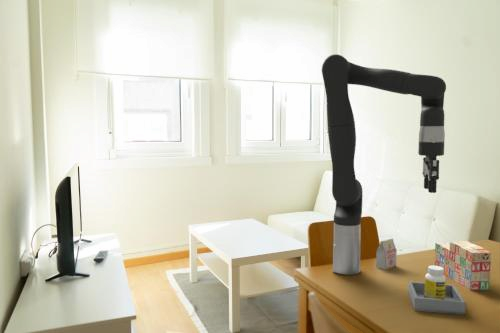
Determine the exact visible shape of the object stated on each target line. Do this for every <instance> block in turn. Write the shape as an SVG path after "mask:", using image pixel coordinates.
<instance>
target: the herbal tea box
mask: <svg viewBox="0 0 500 333" xmlns="http://www.w3.org/2000/svg"><path fill="white" fill-rule="evenodd" d="M395 245H396V244H395V243H394V238H388V239H385V240H381V241H380V243H379V245H378V247H377V249H376V256H375V257H376V259H375V260H376V262H375V267H376V268H378V269H381V270H384V271H385V270H389V269H391V268H395V267H397V248H396V246H395Z"/></svg>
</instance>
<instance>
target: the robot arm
mask: <svg viewBox="0 0 500 333" xmlns="http://www.w3.org/2000/svg"><path fill="white" fill-rule="evenodd" d="M321 74H322V80H323V85H324V89H325V96H326V120H327V122H326V123H327V135H328V144H329V152H330V158H331V166H332V183H331V184H332V186H331V187H332V188H331V192H332V197H333V198H334V200H335V210H334V215H333V244H332V245H333V246H332V273H337V274H340V275H344V276H346V275H347V276H354V275H357V274H359V273H360V272H361V233H362V232H361V229H362V228H361V227H362V226H361V224H362V222H361V220H362V214H363V186H362V184H361V182H360V181H359V180H358V179H357V178H356V172H355V156H356V154H355V153H356V146H357V145H356V144H357V132H356V121H355V117H354V116H355V115H354V112H353V109H352V105H351V102H350V97H349V86H348V85H355V86H364V87H369V88H373V89H377V90H381V91H386V92H390V93H394V94H398V95H399V94H400V95H411V96H417V97H420V104H421V108H420V109H421V110H420V118H419V119H420V120H419V132H418V149H417V150H418V152H417V153H418V155H419V156H425V157H423V158H422V160H423V161H422V173H421V174H422V176H423V178H424V179H423V188H424V189H425V190H428V191H427V192H429V193H431V194H432V193H433V194H435V193H437V181H438V180H439V178H440V160H439V159H437V157H438V156H439V157H440V156H441V157H442V156H444V154H445V141H446V140H445V138H446V137H445V136H446V135H445V134H446V132H445V111H444V105H445V104H444V103H445V102H444V101H445V93H446V89H447V84H446V82H445V80H444V79H443V78H441V77H439V76H436V75H428V74H417V73H416V74H415V73H411V72H406V71H402V70H396V69H389V68H376V67H375V68H374V67H366V66H362V65H358V64H355V63H352V62H350V61H348V60H347V58H345V56H343V55H341V54H336V53H335V54H330V55H329V56H328V57H327V56H326V58H325V59H324V61H323V63H322V65H321Z"/></svg>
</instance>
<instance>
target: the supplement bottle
mask: <svg viewBox="0 0 500 333" xmlns="http://www.w3.org/2000/svg"><path fill="white" fill-rule="evenodd" d="M424 283H425V293H424V298H433V299H444V300H445V290H446V284H447V278H446V276H445V275H444V269H443V268H442V267H440V266H435V265H428V269H427V273H426V274H425V277H424Z"/></svg>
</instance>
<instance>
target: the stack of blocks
mask: <svg viewBox="0 0 500 333" xmlns="http://www.w3.org/2000/svg"><path fill="white" fill-rule="evenodd" d="M434 251H435V257H434V258H435V260H434V261H435V262H434V264H435V265H434V266H440V267H442V268H443V269H444V273H443V275H444V274H445V275H446V276H447V277H449V278H450V279H452V280H454V281H455V282H456V283H459V284H460V285H461V286H462V287H464V288H466V289H467V290H469V291H490V282H491V281H490V275H491V274H490V273H491V266H492V265H491V263H492V262H491V261H492V260H491V259H492V252H491V251H489V250H488V249H485V248H484V247H482V246H480V245H477V244H474V243H472V242H470V241H468V240H465V241H463V240H462V241H461V240H459V241H450V242H435V249H434Z"/></svg>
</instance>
